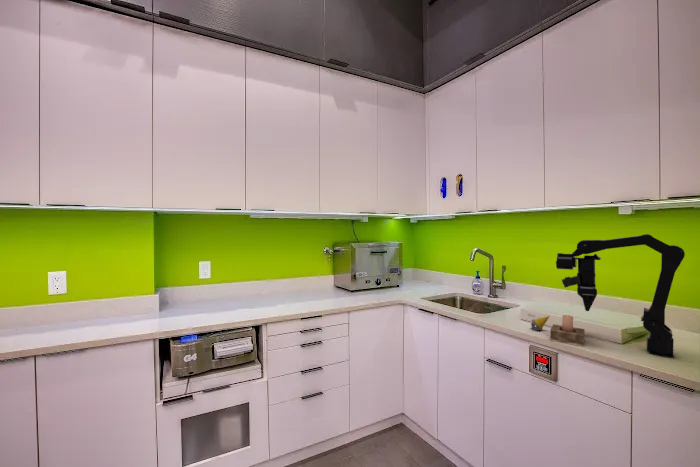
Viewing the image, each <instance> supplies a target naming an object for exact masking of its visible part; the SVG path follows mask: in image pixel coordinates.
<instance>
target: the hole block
mask: <svg viewBox="0 0 700 467" xmlns="http://www.w3.org/2000/svg"><path fill="white" fill-rule="evenodd" d="M549 332H550V333H549V334H550V335H549V336H550V339H549V341H552V342H557V343H563V344H568V345H569V344H570V345H575V346H580V347H584V346H585V335H586V334H585V328H580V327H574V326H573V332H567V331H562V324H561V325H559V324H552V327H551V328H550V331H549Z"/></svg>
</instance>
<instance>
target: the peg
mask: <svg viewBox="0 0 700 467" xmlns="http://www.w3.org/2000/svg"><path fill="white" fill-rule="evenodd" d="M561 321H562V324H561V326H562V331H567V332H573V327H574V317H573V316H572V315H568V314H564V315H562V320H561Z"/></svg>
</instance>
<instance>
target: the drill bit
mask: <svg viewBox="0 0 700 467" xmlns="http://www.w3.org/2000/svg"><path fill="white" fill-rule="evenodd" d="M550 316H551V315H547V316H544V317H539V318H536V319H535V318H533V319H531V323H530V325H531V326H530V327H531V328H530V330H532V331H535V332H536V331H538V330H539V331H542V330H543V329H544V326H545V325H546V323H547V321H548V320H549V318H550Z"/></svg>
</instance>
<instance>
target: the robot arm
mask: <svg viewBox="0 0 700 467" xmlns="http://www.w3.org/2000/svg"><path fill="white" fill-rule="evenodd" d="M636 246H647V247H648V248H650V249H652V250H654V251H656V252H658V253H660V255H661V256H660V258H661V260H660V264H661V265H660V272H659V276H658V278H657V283H656V286H655V287H656V288H655V291H654V295H653V299H652V302H651V305H650V306H649V308H647V307H643V314H642V315H641V318H640V321H641V322H642V327H643V328H644V329H645V330H646V331H647V332H649V333H648V337H646V342H645V345H646V350H647V351H648V353H649V354H650V355H658V356H664V357H669V358H675V354H674V342H675V340H674V338H673V336H674V334H673V330H672V329H671V328H670V327H669V326H668V325H666V323H665V322H666V321H665V319H666V318H665V317H666V312H665V311H666V310H665V309H666V307H667V303H668V302H667V301H668V299H669V295H670V292H671V288H672V284H673V282H674V281H673V280H674V277H675V274H676V271H677V270H678V268H679V267H680V265H681V264H682V262H683V260H684V259H685V255H686V253H685V250H684V249H683V248H682V247H681V246H678V245H676V244H668V243H665V242H663V241H662V240H660V239H658V238H655V237H654V236H653V235H651V234H650V233H645V234H641V235H634V236H632V235H631V236H625V237H618V238H617V237H616V238H611V239H582V240H580V241H579V242H578V243H576V249H575V250H574V251H573V252H572V253H562V252H558V253H557V255H556V261H555V267H556V269H557V270H569V271H570V270H571V271H573V270H574V269H575V268H577V273H576V275H574V276H571V277H570V276H565V277H564V278H562V279H561V282H562V285H563V286H564V288H568V287H573V286H577V288H576V290H577V295H578V296H579V297H581V299H582V303H583V307H584V310H585V312H590V309H591V308H592V305H593V304H594V302H595V299H596V298H597V296H598V289H597V288H596V285H597V284H596V261H600V260H602V258H601V257H600V256H599V255H598V254H597V252H601V251H604V250H605V251H606V250H610V249H619V248H626V247H636ZM593 253H594V254H593ZM591 254H593V255H591ZM582 255H584V256H583V257H580V256H582Z"/></svg>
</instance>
